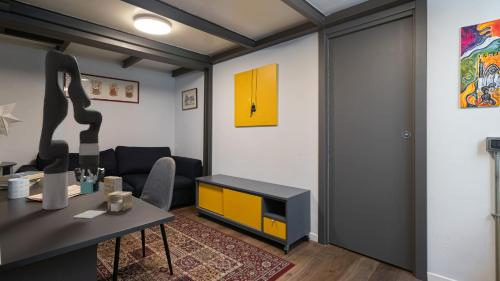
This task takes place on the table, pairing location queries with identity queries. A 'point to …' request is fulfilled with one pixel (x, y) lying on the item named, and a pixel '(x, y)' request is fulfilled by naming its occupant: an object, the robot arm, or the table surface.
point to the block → (87, 187)
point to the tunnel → (125, 199)
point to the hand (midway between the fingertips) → (90, 191)
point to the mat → (89, 214)
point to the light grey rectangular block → (116, 206)
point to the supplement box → (112, 186)
